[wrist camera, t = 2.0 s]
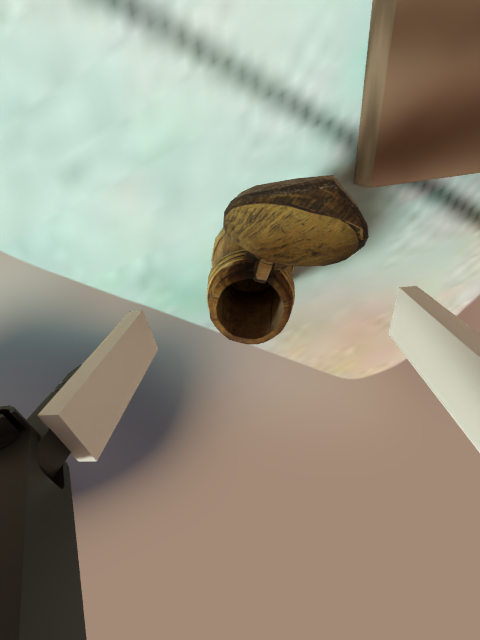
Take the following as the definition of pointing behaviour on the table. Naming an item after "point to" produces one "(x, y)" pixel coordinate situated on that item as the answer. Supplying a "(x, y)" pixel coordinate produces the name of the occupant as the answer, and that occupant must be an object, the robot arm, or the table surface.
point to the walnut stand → (420, 92)
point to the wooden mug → (277, 251)
